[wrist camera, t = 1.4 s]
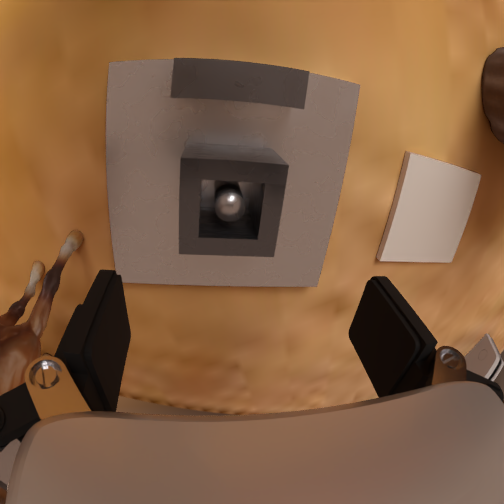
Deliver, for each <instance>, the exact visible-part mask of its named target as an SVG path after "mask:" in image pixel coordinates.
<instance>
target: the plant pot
mask: <svg viewBox="0 0 504 504" xmlns="http://www.w3.org/2000/svg"><path fill="white" fill-rule="evenodd" d="M482 97H483V105H484V110H485V114H486V116H487V117H488V119H489V120H490V123H491V130H492V132H493V133H494V135H495V136H496V137H497V139H498V140H499V141H501V142H502V143H503V144H504V47H501V48H497V49H496V51H495V52H494V53H493V54H491V55H489V56H488V58H487V60H486V63H485V66H484V71H483V79H482Z"/></svg>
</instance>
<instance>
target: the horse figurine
mask: <svg viewBox="0 0 504 504" xmlns="http://www.w3.org/2000/svg"><path fill="white" fill-rule="evenodd" d="M82 241H83V234H82V233H81V232H80V231H76V230H75V231H72V232H71V233H70V234H69V235H68V236H67V238H66V241H65V244H64V245H63V246H62V247H61V250H60V253H59V256H58V258H57V260H56V262H55V264H54V265H53V267H52V269H51V270H49V271H48V272H47V274H46V276H45V278H44V281H43V287H42V291H41V293H40V295H39V297H38V300H37V302H36V304H35V306H34V308H33V310H32V313H31V315H30V317H29V319H28V321H27V322H26V323H22V324H21V325H15V324H16V322H17V321H18V320H19V318H20V317H22V316H23V314H24V311H25V307H26V305H27V303H28V301H29V300H30V299H31V297H33V296H34V295H35V286H36V284H37V282H38V281H40V279H41V276H42V274H43V273H44V271H45V267H44V265H43V263H42V262H40V261H35V262H34V263H33V266H32V271H31V274H30V282H29V284H28V286H27V287H26V290H25V293H24V296H23V297H22V298H21V299H20V300H19V301H17V302H15V303H13V304H12V305H11V307H10V308H9V310H8V312H7V313H6V314H3V315H1V316H0V396H1V395H2V394H4V393H6V392H8V391H10V390H12V389H14V388H16V387H18V386H19V385H21V384H23V383H25V372H26V369H27V367H28V366H29V365H30V364H31V363H32V361H34V360H36V359H37V358H40V355H41V344H40V338H41V336H42V334H43V331H44V329H45V328H46V325H47V321H48V318H49V314H50V310H51V305H52V301H53V298H54V295H55V293H56V291H57V290H58V287H59V284H60V276H61V272H62V270H63V268H64V266H65V264H66V262H67V260H68V258H69V257H70V256H71V254H72V252H73V251H75V250H76V249H77V248H78V247H79V246H80V245H81V243H82ZM14 325H15V326H14ZM43 356H50V355H49V354H43ZM43 356H42V357H43Z"/></svg>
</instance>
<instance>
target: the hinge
mask: <svg viewBox="0 0 504 504" xmlns="http://www.w3.org/2000/svg"><path fill="white" fill-rule="evenodd" d="M464 358H465V360H466V364H467V370H469V371H471V372H474V373H476V374H478V375H480V376H482V377H485V378H487V379H489V380H491V381H494V380H495V378H496V377H497V375H498V374H499V372H500V371H501V369H502V367H503V364H504V363H503V360H502V358H501V356H500V353H499V351H498V349H497V347H496V345H495V343H494V341H493V339H492V338H490V336H489V334H485V335H484V337H483V338H482V339H481V340H480V341H479V342H478V343H477V344H476V345H475V346H474V347H473V348H472V350H471V351H470V352H469V353H468V354H467V355H466V356H465V357H464Z"/></svg>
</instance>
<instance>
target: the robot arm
mask: <svg viewBox="0 0 504 504" xmlns="http://www.w3.org/2000/svg"><path fill="white" fill-rule="evenodd" d="M130 338H131V331H130V325H129V320H128V315H127V309H126V303H125V297H124V290H123V284H122V277H121V275H117V273H116V271H115V270H100V271H99V273H98V274H97V276H96V278H95V280H94V282H93V284H92V286H91V288H90V290H89V292H88V295H87V297H86V299H85V301H84V303H83V304H79V305H78V306H77V307H76V309H75V311H74V313H73V315H72V317H71V319H70V322H69V324H68V326H67V328H66V330H65V333H64V335H63V337H62V339H61V342H60V344H59V346H58V349H57V351H56V354H55V356H54V357H53V356H43V357H40V358H37V359H36V360H34V361H32V363H31V364H30V365H29V366H28V367H27V369H26V372H25V383H23V384H21V385H19V386H18V387H16V388H14V389H12V390H10V391H8V392H6V393H4V394H2V395H1V396H0V504H504V396H503V392H502V390H501V388H500V386H499V385H498V384H497V383H495V382H493V381H491V380H489V379H487V378H485V377H482V376H480V375H478V374H476V373H474V372H471V371H469V370H467V364H466V360H465V358H464V356H463V355H462V354H461V353H460V352H459V351H458V350H456V349H454V348H453V347H449V346H442V347H440V348H438V349H437V350H436V349H435V346H436V344H437V343H438V342H437V340H436V339H435V338H434V336H433V335H432V334H431V332H430V331H429V330H428V328H427V327H426V326H425V324H424V323H423V322H422V320H421V319H420V318H419V316H418V315H417V314H416V313H415V311H414V310H413V309H412V307H411V306H410V305H409V304H408V302H407V301H406V300H405V299H404V297H403V296H402V295H401V294H400V292H399V291H398V290H397V289H396V287H395V286H394V285H393V284H392V283H391V281H390V280H389V279H388V278H387V277H385V276H374V277H372V278H371V279H370V280H368V282H367V284H366V286H365V289H364V292H363V295H362V298H361V300H360V303H359V306H358V308H357V311H356V314H355V316H354V319H353V321H352V324H351V326H350V329H349V338H350V340H351V342H352V344H353V346H354V348H355V350H356V352H357V354H358V356H359V358H360V360H361V362H362V364H363V366H364V368H365V370H366V372H367V374H368V376H369V378H370V380H371V382H372V384H373V386H374V389H375V391H376V393H377V395H378V397H379V398H376V399H371V400H366V401H361V402H355V403H349V404H344V405H337V406H331V407H324V408H317V409H309V410H301V411H291V412H281V413H269V414H253V415H230V416H183V415H153V414H138V413H123V412H116V408H117V402H118V396H119V391H120V386H121V381H122V376H123V371H124V366H125V361H126V357H127V352H128V348H129V343H130ZM8 483H9V485H8ZM7 485H8V490H7Z"/></svg>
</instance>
